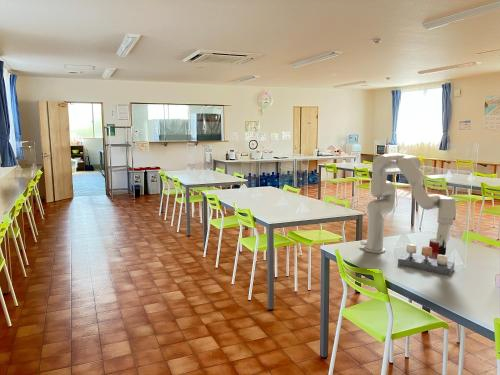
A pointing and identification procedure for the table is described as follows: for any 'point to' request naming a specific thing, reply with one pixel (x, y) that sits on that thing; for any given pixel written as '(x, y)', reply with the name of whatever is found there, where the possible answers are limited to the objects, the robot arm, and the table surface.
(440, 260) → the knob
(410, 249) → the knob
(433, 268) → the console
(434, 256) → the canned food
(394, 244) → the table surface
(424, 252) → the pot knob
